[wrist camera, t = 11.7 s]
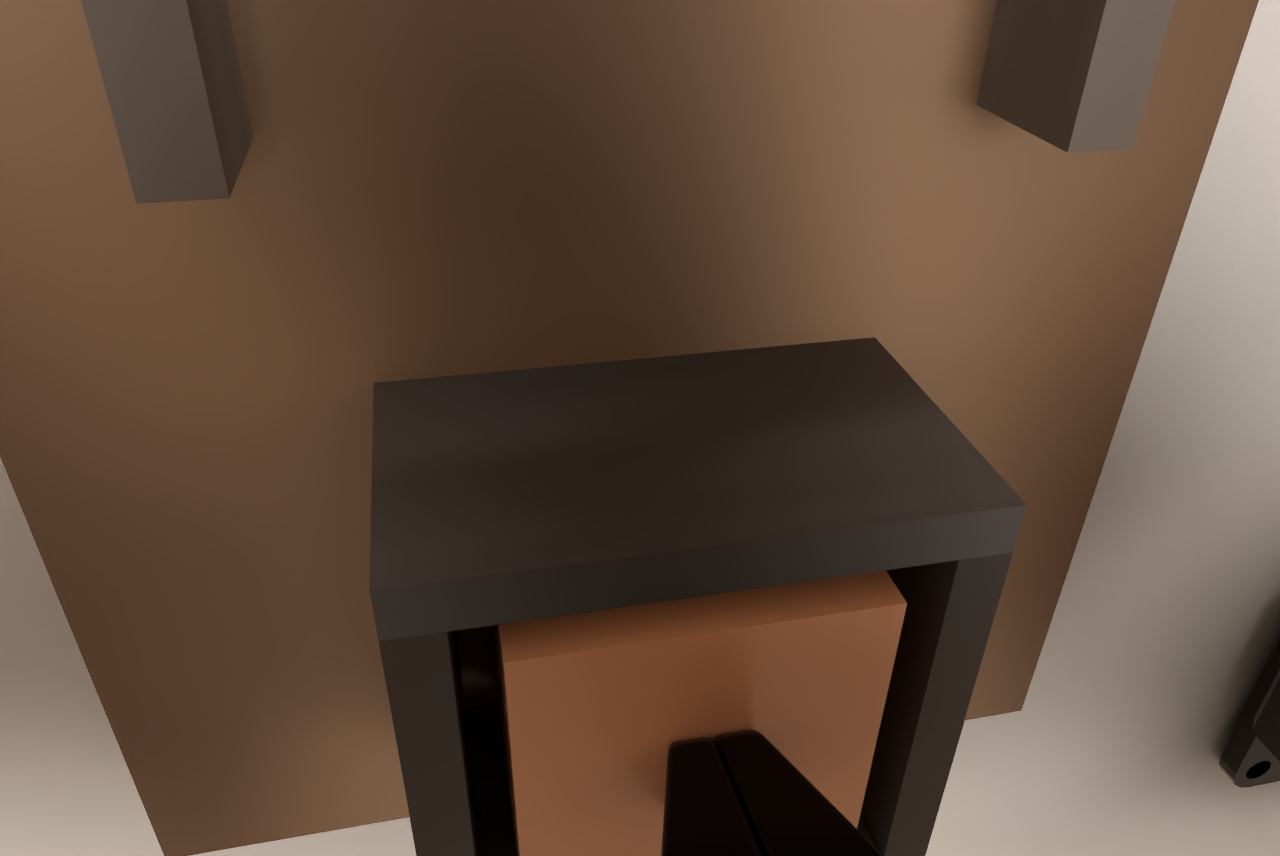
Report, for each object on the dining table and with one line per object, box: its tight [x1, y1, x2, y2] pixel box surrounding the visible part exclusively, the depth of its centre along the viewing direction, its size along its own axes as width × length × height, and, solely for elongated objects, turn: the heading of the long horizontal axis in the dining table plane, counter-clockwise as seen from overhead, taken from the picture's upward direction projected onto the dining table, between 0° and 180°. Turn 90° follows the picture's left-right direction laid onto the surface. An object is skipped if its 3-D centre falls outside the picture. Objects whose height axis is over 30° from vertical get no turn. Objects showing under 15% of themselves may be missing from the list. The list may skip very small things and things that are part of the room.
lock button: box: [491, 570, 907, 856], centre depth 10 cm, size 3×3×3 cm
